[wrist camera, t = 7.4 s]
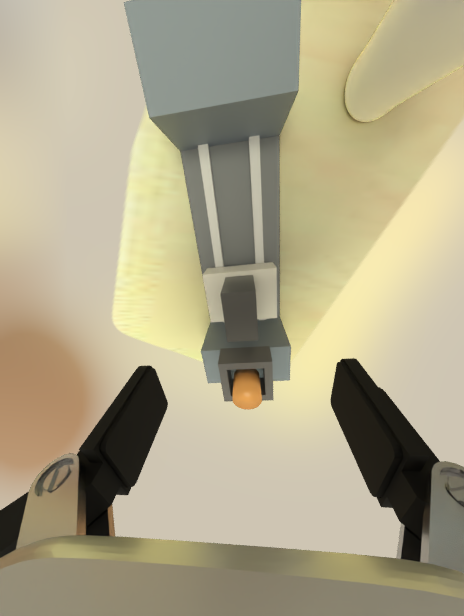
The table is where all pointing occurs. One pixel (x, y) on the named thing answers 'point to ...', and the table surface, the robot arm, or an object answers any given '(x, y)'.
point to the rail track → (226, 141)
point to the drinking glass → (406, 56)
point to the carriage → (241, 297)
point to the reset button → (247, 388)
